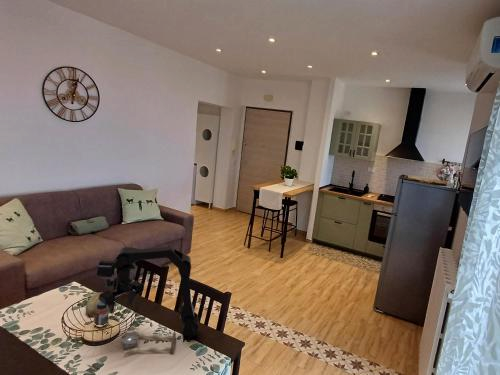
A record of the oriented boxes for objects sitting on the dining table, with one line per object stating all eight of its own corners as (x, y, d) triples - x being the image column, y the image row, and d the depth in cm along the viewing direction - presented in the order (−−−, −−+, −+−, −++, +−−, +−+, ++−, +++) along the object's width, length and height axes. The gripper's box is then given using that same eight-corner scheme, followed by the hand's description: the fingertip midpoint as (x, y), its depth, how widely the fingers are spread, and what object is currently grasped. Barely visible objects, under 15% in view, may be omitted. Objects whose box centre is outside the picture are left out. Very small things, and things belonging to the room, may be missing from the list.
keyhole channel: (175, 335, 152) (176, 329, 151) (172, 357, 138) (172, 351, 137) (131, 334, 149) (131, 328, 148) (123, 356, 135) (123, 350, 134)
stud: (139, 339, 146) (139, 332, 145) (135, 350, 139) (136, 343, 138) (123, 339, 145) (123, 331, 144) (118, 350, 138) (119, 342, 137)
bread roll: (114, 302, 171) (114, 288, 169) (101, 319, 156) (101, 304, 155) (96, 300, 171) (96, 286, 169) (81, 316, 156) (81, 301, 155)
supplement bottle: (92, 322, 153) (93, 300, 151) (106, 319, 157) (107, 297, 154) (95, 329, 149) (96, 307, 146) (109, 326, 152) (110, 304, 150)
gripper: (130, 264, 152) (128, 294, 155) (92, 276, 136) (90, 309, 139) (146, 273, 146) (143, 304, 149) (107, 286, 130) (105, 321, 133)
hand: (121, 309), depth 143 cm, fingers open, 9 cm apart
